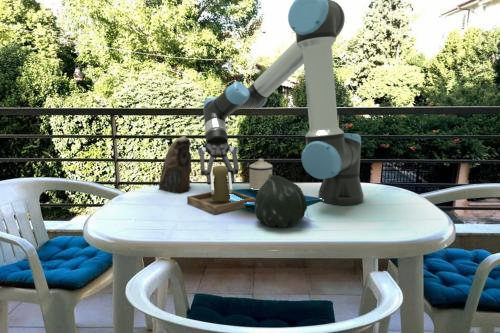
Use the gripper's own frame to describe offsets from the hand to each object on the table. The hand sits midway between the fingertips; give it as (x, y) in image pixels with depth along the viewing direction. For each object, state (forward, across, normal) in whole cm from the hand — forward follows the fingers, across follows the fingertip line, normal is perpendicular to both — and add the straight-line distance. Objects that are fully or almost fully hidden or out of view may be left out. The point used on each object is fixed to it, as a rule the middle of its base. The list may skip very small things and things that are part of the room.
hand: (221, 191), depth 123 cm
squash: (+17, -15, +9) cm, 24 cm away
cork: (0, 0, -5) cm, 5 cm away
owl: (-16, +15, -23) cm, 32 cm away
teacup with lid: (-12, -18, -20) cm, 30 cm away
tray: (+1, 0, -6) cm, 6 cm away
